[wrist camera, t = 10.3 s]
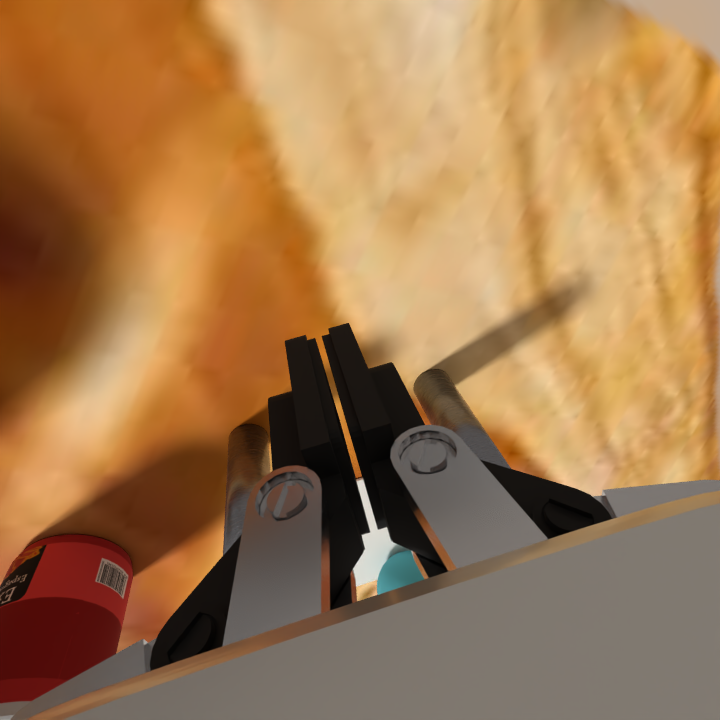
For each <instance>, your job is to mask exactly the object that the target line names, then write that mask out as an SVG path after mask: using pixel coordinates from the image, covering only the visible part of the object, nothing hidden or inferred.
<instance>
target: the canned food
mask: <svg viewBox="0 0 720 720" xmlns="http://www.w3.org/2000/svg"><path fill="white" fill-rule="evenodd" d="M132 579H133V570H132V562H131V560H130V557H129V555H128V554H127V553H126V552H125V551H124V550H123V549H122V548H121V547H119V546H118V545H116V544H114V543H112V542H110V541H108V540H105V539H102V538H99V537H94V536H89V535H80V534H68V535H59V536H53V537H49V538H45V539H42V540H40V541H37V542H35V543H33V544H31V545H30V546H28V547H27V548H26V549H25V550H24V551H23V552H22V553H21V554H20V555H19V556H18V557H17V558H16V559H15V560H14V561H13V562H12V564H11V566H10V568H9V570H8V572H7V574H6V576H5V578H4V580H3V582H2V584H1V586H0V720H10V719H11V718H12V717H13V716H14V715H15V714H16V713H17V712H18V711H19V710H20V709H22V708H23V707H25V706H26V705H27V704H29V703H30V702H31V701H33V700H34V699H36V698H38V697H40V696H42V695H43V694H45V693H47V692H49V691H51V690H52V689H54V688H56V687H58V686H59V685H61V684H63V683H65V682H67V681H68V680H70V679H72V678H74V677H76V676H77V675H79V674H81V673H83V672H85V671H86V670H88V669H90V668H92V667H93V666H95V665H97V664H99V663H101V662H102V661H104V660H106V659H108V658H110V657H111V656H113V655H115V654H116V651H117V647H118V642H119V638H120V633H121V629H122V624H123V620H124V615H125V611H126V606H127V602H128V597H129V593H130V588H131V584H132Z"/></svg>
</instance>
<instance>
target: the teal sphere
mask: <svg viewBox="0 0 720 720" xmlns="http://www.w3.org/2000/svg"><path fill="white" fill-rule="evenodd" d="M421 580H424V577H423V575H422V574H421V572H420V570H419V568H418V566H417V564H416V562H415V561H414V558H413V555H412V552H411V551H410V550H409V551H402V552H399V553H396V554H395V555H393V556H392V557H390V558H389V559H388V560H387V561H386V562H385V564H384V565H383V567H382V568H381V570H380V573H379V576H378V581H377V593H378V595H379V594H382V593H385V592H388V591H391V590H394V589H397V588H400V587H403V586H406V585H409V584H412V583H415V582H418V581H421Z"/></svg>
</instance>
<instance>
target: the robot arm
mask: <svg viewBox="0 0 720 720" xmlns="http://www.w3.org/2000/svg"><path fill="white" fill-rule="evenodd" d="M328 330H329V334H328V335H324V336H322V339H323V342H324V346H325V349H326V353H327V356H328V360H329V363H330V367H331V370H332V374H333V377H334V381H335V384H336V388H337V391H338V395H339V398H340V402H341V405H342V409H343V412H344V415H345V419H346V422H347V426H348V429H349V433H350V436H351V440H352V443H353V446H354V450H355V453H356V457H357V460H358V464H359V467H360V470H361V474H362V477H363V481H364V484H365V487H366V491H367V494H368V498H369V501H370V505H371V508H372V511H373V515H374V518H375V522H376V525H377V529H378V530H379V529H383V528H386V527H387V529H388V533H389V536H390V539H391V541H393V543H396V544H398V545H400V546H402V547H404V548H407V549H409V550H411V552H412V555H413V558H414V561H415V562H416V564H417V566H418V568H419V570H420V572H421V574H422V575H423V577H424V580H421V581H418V582H415V583H412V584H409V585H406V586H403V587H400V588H397V589H394V590H391V591H388V592H385V593H382V594H379V595H376V596H373V597H370V598H367V599H364V600H361V601H358V602H357V595H356V579H355V575H354V570H353V568H354V567H355V565H356V564H357V562H358V560H359V559H360V557H361V555H362V554H363V552H364V550H365V547H364V543H363V539H362V535H364V534H367V533H370V529H369V525H368V521H367V518H366V514H365V511H364V507H363V503H362V500H361V496H360V492H359V489H358V485H357V481H356V478H355V474H354V470H353V467H352V463H351V459H350V456H349V452H348V449H347V445H346V441H345V438H344V434H343V430H342V427H341V423H340V420H339V416H338V413H337V410H336V406H335V403H334V399H333V396H332V393H331V389H330V386H329V383H328V379H327V376H326V373H325V369H324V366H323V362H322V359H321V356H320V352H319V349H318V346H317V342H316V339H315V338H314V339H310V340H307V337H306V335H304V336H300V337H297V338H293V339H290V340H286V341H285V346H286V353H287V360H288V366H289V373H290V380H291V387H292V391H290V392H287V393H284V394H280V395H277V396H273V397H270V398H269V399H268V409H269V424H270V438H271V453H272V468H273V471H272V472H271V473H269V474H267V475H266V476H264V477H263V478H262V479H261V480H260V481H259V482H258V483H257V484H256V485H255V487H254V488H253V490H252V491H251V493H250V496H249V499H248V501H247V507H246V513H245V518H244V524H243V530H242V534H241V535H240V537H239V538H238V539H237V540H236V541H235V542H234V544H233V545H232V546H231V547H230V548H229V549H228V551H227V552H226V553H225V554H224V555H223V557H222V558H221V559H220V560H219V561H218V562H217V564H216V565H215V566H214V567H213V568H212V569H211V571H210V572H209V573H208V574H207V575H206V576H205V578H204V579H203V580H202V581H201V582H200V583H199V585H198V586H197V587H196V588H195V589H194V590H193V592H192V593H191V594H190V595H189V596H188V597H187V599H186V600H185V601H184V602H183V603H182V605H181V606H180V607H179V608H178V609H177V610H176V612H175V613H174V614H173V615H172V616H171V617H170V619H169V620H168V621H167V623H166V624H165V625H164V627H163V628H162V630H161V631H160V633H159V634H158V637H157V638H156V639H154V640H152V641H151V642H149V643H147V642H146V641H145V640H144V639H142V640H140V641H138V642H136V643H135V644H133V645H131V646H129V647H128V648H126V649H124V650H122V651H120V652H119V653H117V654H115V655H113V656H111V657H110V658H108V659H106V660H104V661H102V662H101V663H99V664H97V665H95V666H93V667H92V668H90V669H88V670H86V671H85V672H83V673H81V674H79V675H77V676H76V677H74V678H72V679H70V680H68V681H67V682H65V683H63V684H61V685H59V686H58V687H56V688H54V689H52V690H51V691H49V692H47V693H45V694H43V695H42V696H40V697H38V698H36V699H34V700H33V701H31V702H30V703H29V704H27V705H26V706H25V707H23V708H22V709H20V710H19V711H18V712H17V713H16V714H15V715H14V716H13V717H12V718H11V719H10V720H720V480H699V481H689V482H679V483H668V484H658V485H648V486H638V487H628V488H618V489H608V490H603V492H602V496H594V497H592V496H591V495H589V494H587V493H585V492H583V491H580V490H578V489H575V488H572V487H569V486H565V485H562V484H559V483H556V482H552V481H549V480H546V479H542V478H539V477H536V476H533V475H529V474H526V473H523V472H519V471H516V470H513V469H509V468H506V467H503V466H500V465H496V464H493V463H490V462H486V461H483V460H480V459H478V457H477V456H476V455H475V454H474V453H473V452H472V450H471V449H470V448H469V447H468V446H467V445H466V443H465V442H464V441H463V440H462V439H461V438H460V437H459V436H458V435H457V434H456V433H455V432H453V431H452V430H450V429H447V428H445V427H442V426H436V425H425V424H424V422H423V420H422V418H421V416H420V414H419V412H418V411H417V409H416V407H415V405H414V403H413V401H412V399H411V397H410V395H409V393H408V391H407V389H406V387H405V385H404V383H403V382H402V380H401V378H400V376H399V374H398V372H397V370H396V368H395V366H394V364H393V363H392V362H390V363H387V364H383V365H380V366H377V367H373V368H370V369H368V367H367V365H366V363H365V360H364V358H363V356H362V353H361V351H360V348H359V346H358V344H357V341H356V339H355V336H354V334H353V332H352V329H351V327H350V325H349V323H346V324H343V325H339V326H336V327H332V328H329V329H328Z"/></svg>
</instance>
